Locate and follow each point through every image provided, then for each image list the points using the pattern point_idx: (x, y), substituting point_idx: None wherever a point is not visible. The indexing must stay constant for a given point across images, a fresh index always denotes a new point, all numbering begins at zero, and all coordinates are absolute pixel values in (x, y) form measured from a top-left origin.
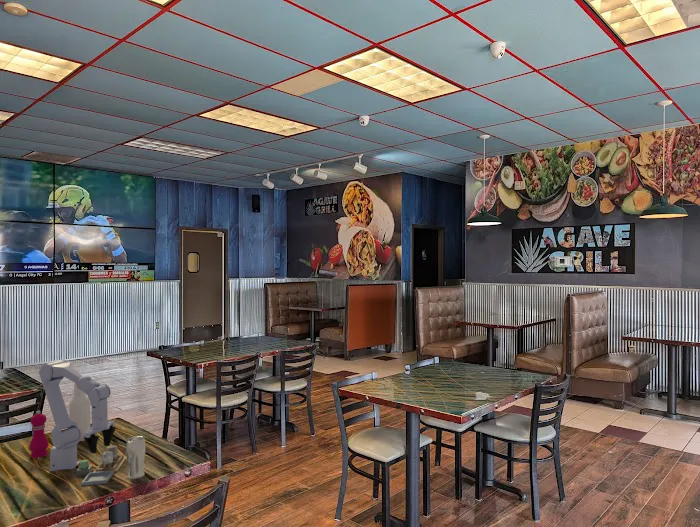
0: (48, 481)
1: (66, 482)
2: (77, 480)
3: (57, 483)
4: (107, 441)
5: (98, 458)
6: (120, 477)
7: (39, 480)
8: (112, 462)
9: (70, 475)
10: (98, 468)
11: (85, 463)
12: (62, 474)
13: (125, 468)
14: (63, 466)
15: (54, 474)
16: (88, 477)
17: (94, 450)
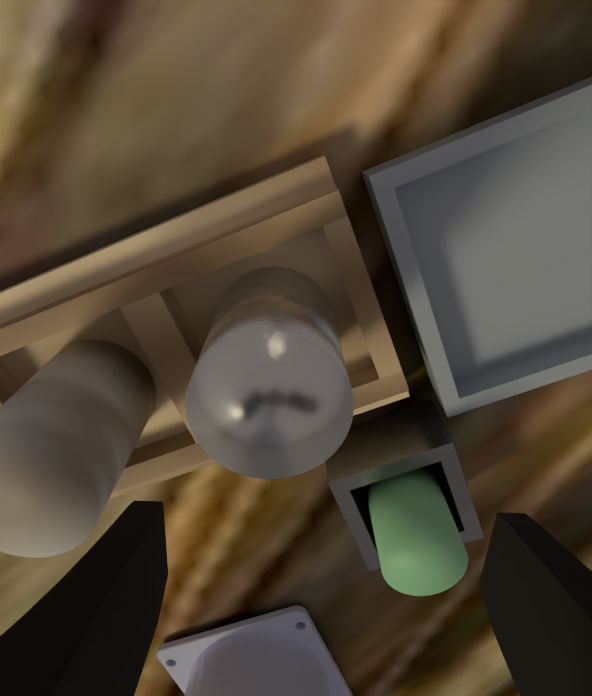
0: None
1: (549, 503)
2: (509, 446)
3: None
4: (133, 597)
5: (45, 572)
6: (423, 20)
7: (507, 682)
8: (254, 287)
9: None
10: (380, 374)
11: (447, 526)
12: (397, 619)
13: (167, 147)
14: (326, 686)
15: (402, 663)
16: (515, 367)
17: (561, 557)
